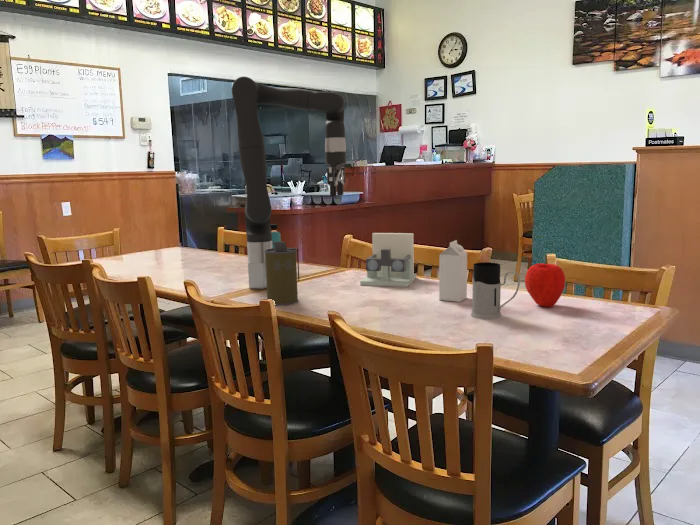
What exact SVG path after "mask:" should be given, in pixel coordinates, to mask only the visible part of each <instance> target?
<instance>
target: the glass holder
mask: <svg viewBox="0 0 700 525" xmlns="http://www.w3.org/2000/svg"><path fill="white" fill-rule="evenodd" d="M472 269H473V271H472V296H471V298H472V299H471V300H472V306H471V307H472V310H471V313H470V316H471V317H472V318H475V319H479V320H497V319H500V318H502V312H501V308H502V307H504V306H505V305H506V304H508V303H510V302H511V301H512V300H513V299H514V298H515V297H516V295H517V294H518V291H519V288H520V284H521V278H520V276H519V274H518V273H517V272H516V271H513V270H511V271H508V272H506V273H505V274H504V278H503V283H502V282H501V264H500V263H498V262H490V261H489V262H482V261H481V262H476V263H475V262H474V263H473V267H472ZM510 273H513V274H514V275H516V277H517V288H516V290H515V292H514V294H513V295H512V296H511V298H509V299H508V300H507V301H505V302H504V303H503V304H502V305H501V287H502V286H504V285H505V284H506V281H507V276H508V275H509V274H510Z"/></svg>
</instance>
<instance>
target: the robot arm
mask: <svg viewBox="0 0 700 525" xmlns="http://www.w3.org/2000/svg"><path fill="white" fill-rule="evenodd" d="M231 95H232V99H233V103H234V108H235V114H236V122H237V141H238V144H237V145H238V154H239V162H240V166H241V170H242V174H243V178H244V182H245V187H246V203H245V205H244V222H245V233H246V241H247V242H246V243H247V244H246V246H247V247H246V249H247V274H248V289H258V290H259V289H260V290H261V289H262V290H264V289H267V283H266V263H265V252H264V251H265V250H267V249H272V233H271V232H272V229H271V226H270V224H271V215H272V213H273V212H272V211H273V210H272V204H271V201H270V196H269V192H268V191H269V190H268V186H267V183H268V182H267V156H266V147H265V145H266V144H265V142H264V137H263V132H262V129H261V128H262V127H261V124H260V122H259V121H260V120H259V116H258V115H259V114H258V106H259V105H264V106H265V105H269V106H277V107H278V106H279V107H285V108H290V109H295V110H302V111H309V112H315V111H319V112H324V114H325V130H324V131H325V133H324V134H325V136H324V137H325V140H324V141H325V142H324V143H325V144H324V149H325V150H324V156H325V164H326V165H330V166H328V167H327V168H326V184H327V185H328V186H329V196H330V197H333V198H334V197H337V196H343V195H344V184H345V183H346V167H345V166H342V165H345V164H347V144H346V128H345V123H344V122H345V100H344V98H343V96H342V95H341V94H339V93H337V92H331V91H315V90H309V89H304V88H293V87H275V86H268V85H265V84H262V83H259V82H256V81H255V80H254V79H252V78H251V77H249V76H238V77H237V78H236V79H235V80H234V82H233V83H232V85H231Z"/></svg>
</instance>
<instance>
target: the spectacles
mask: <svg viewBox="0 0 700 525" xmlns="http://www.w3.org/2000/svg"><path fill="white" fill-rule="evenodd" d="M408 259H410V255H407V256H406V257H404V258H391V249H382V250H381V258H376V254H373V253H372V255H370V256H368V257H367V258H366V259H365V268H366V269H365V270H366V272H367V271H380V270H381V266H391V272H405V271H406V261H407V260H408Z"/></svg>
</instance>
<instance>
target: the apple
mask: <svg viewBox="0 0 700 525" xmlns="http://www.w3.org/2000/svg"><path fill="white" fill-rule="evenodd" d="M524 284H525V285H524V286H525V289H526V291H527V293H528V294H529V295H530V297H531V299H532V301H534V302H535V303H536V304H537V305H538V306H541V307H546V308H551V307H554V306H555V304H557V302H558V301H559V300H560V298H561V297H562V294H563V292H564V290H565V288H566V275H565V272H564V271H563V269H562V267H560V266H559V265H557V264H554V263H553V264H552V263H547V262H545V263H542V262H540V263H535V264H533V265H531V266H530V267H529V268H528V269H527V271H526V273H525V278H524Z"/></svg>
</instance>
